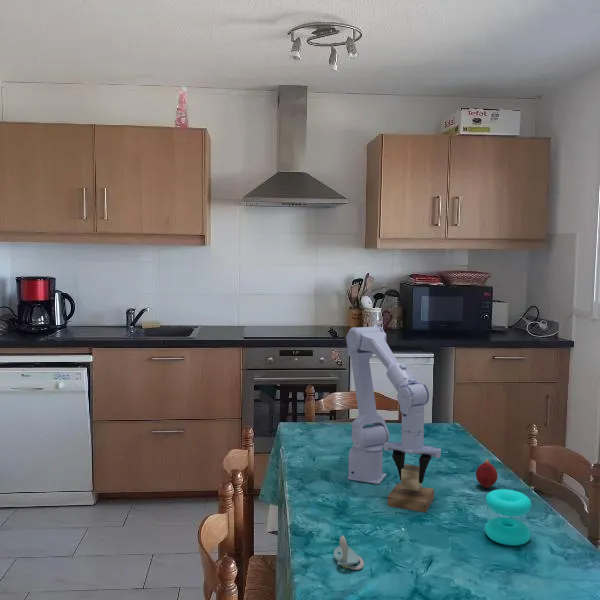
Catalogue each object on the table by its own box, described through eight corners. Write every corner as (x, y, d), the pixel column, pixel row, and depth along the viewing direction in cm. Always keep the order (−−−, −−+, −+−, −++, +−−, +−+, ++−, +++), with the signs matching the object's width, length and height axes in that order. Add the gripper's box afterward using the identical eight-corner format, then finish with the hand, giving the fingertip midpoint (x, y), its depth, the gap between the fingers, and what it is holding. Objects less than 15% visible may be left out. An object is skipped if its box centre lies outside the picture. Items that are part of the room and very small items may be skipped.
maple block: (400, 488, 161) (401, 469, 161) (405, 482, 165) (405, 464, 165) (418, 490, 159) (418, 471, 159) (421, 484, 164) (422, 466, 163)
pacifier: (358, 555, 135) (331, 556, 134) (360, 527, 134) (333, 528, 133) (367, 572, 127) (339, 574, 126) (369, 543, 127) (340, 544, 126)
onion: (498, 492, 169) (499, 464, 168) (476, 491, 170) (477, 462, 170) (495, 485, 175) (496, 457, 174) (474, 483, 176) (475, 455, 175)
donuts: (492, 484, 149) (535, 493, 144) (491, 524, 150) (534, 534, 144) (480, 498, 140) (526, 508, 135) (479, 540, 141) (524, 552, 136)
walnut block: (387, 507, 160) (387, 496, 160) (397, 493, 169) (397, 483, 169) (425, 514, 156) (426, 502, 156) (434, 499, 165) (434, 488, 165)
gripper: (381, 430, 160) (380, 481, 161) (437, 437, 155) (436, 490, 156) (388, 423, 167) (387, 472, 168) (442, 429, 161) (441, 480, 162)
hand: (411, 480), depth 162 cm, fingers closed on maple block, 4 cm apart
